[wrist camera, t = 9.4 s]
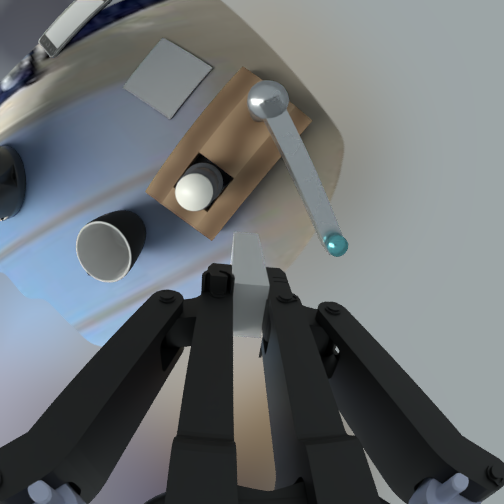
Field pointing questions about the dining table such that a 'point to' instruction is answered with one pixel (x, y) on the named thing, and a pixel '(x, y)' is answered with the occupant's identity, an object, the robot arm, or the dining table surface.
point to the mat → (167, 77)
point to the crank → (296, 161)
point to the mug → (111, 245)
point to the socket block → (223, 154)
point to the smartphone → (70, 24)
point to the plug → (199, 186)
